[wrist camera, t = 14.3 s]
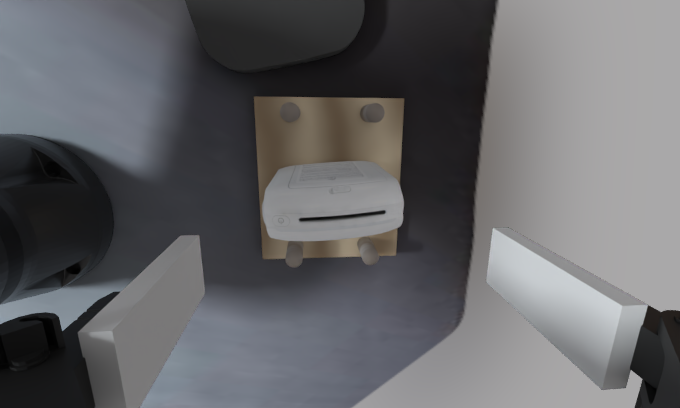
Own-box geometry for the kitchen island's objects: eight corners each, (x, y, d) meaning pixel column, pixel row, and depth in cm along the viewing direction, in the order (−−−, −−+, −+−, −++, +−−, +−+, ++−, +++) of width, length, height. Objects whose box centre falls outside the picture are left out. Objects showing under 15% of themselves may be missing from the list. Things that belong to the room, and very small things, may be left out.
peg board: (264, 254, 36) (257, 274, 31) (255, 97, 32) (246, 93, 27) (393, 251, 37) (405, 269, 32) (400, 99, 33) (415, 96, 28)
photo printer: (277, 207, 33) (259, 257, 22) (272, 164, 32) (251, 192, 20) (379, 199, 34) (417, 243, 22) (378, 156, 33) (416, 179, 21)
